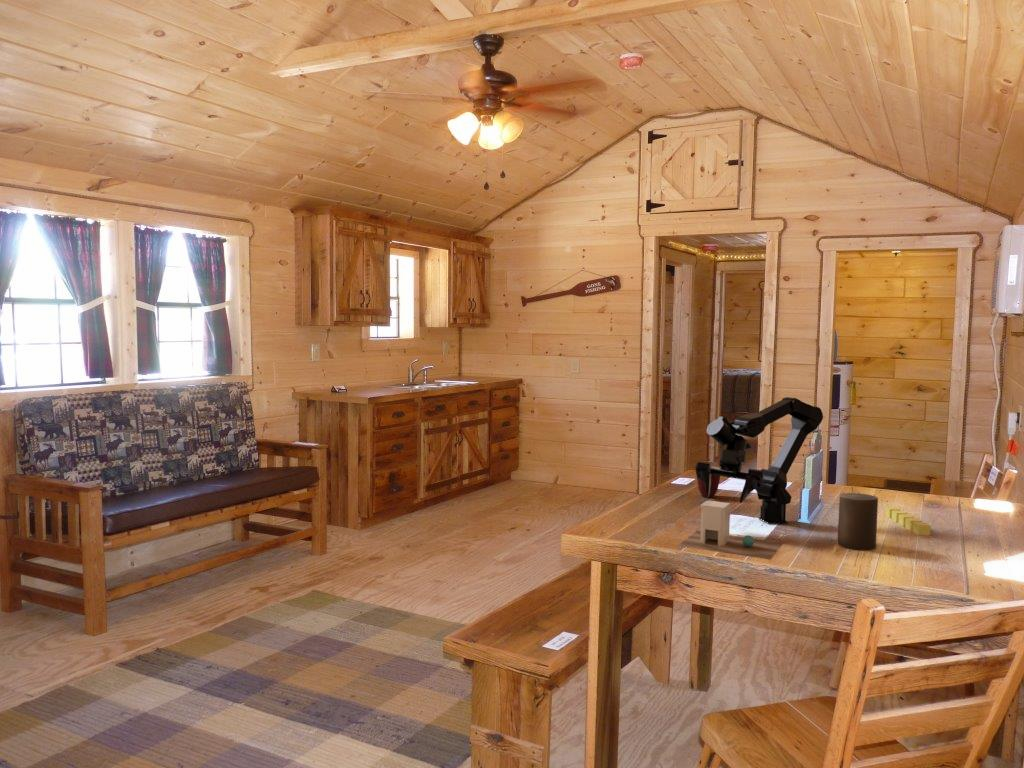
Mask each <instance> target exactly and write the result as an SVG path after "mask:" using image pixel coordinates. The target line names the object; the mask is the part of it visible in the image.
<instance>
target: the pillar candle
mask: <svg viewBox="0 0 1024 768" xmlns="http://www.w3.org/2000/svg"><path fill="white" fill-rule="evenodd" d="M878 500H879V498H878V496H875V495H871V494H867V493H860V491H857V493H855V492H845V493H844V492H843V493H839V502H838V503H839V504H838V520H837V521H838V523H837V524H838V525H837V544H838V545H839V546H840V547H843V548H846V549H850V550H858V551H873V550H875V549H877V536H878V535H877V527H878V503H879V501H878Z"/></svg>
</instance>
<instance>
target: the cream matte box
mask: <svg viewBox="0 0 1024 768" xmlns="http://www.w3.org/2000/svg"><path fill="white" fill-rule="evenodd" d="M730 521H731V502H722V501H715V500H714V501H713V500H706V501H704V502H702V503H701V504H700V531H701V537H700V542H702V543H703V544H705V541H706V540H707V539H714V540H718V546H721V545H723V546H724V545H725V544H726V543H727V542H728V541H729V535H730V527H731V526H730Z"/></svg>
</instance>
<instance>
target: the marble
mask: <svg viewBox="0 0 1024 768" xmlns="http://www.w3.org/2000/svg"><path fill="white" fill-rule="evenodd" d="M742 537H743V540H742V542H743V544H744V545H745V546H747V547H750V546H752V545H753V544H754V539H755V538H754V537H753V536H751V535H744V536H742Z"/></svg>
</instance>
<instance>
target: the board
mask: <svg viewBox="0 0 1024 768" xmlns="http://www.w3.org/2000/svg"><path fill="white" fill-rule="evenodd" d="M700 537H701V530H696V531H695V532H693V533H692V534H691V535H689V536H688V537H687V538H686V539H684V540H683V541H682V542H681V543H679V544H678V545H677V546H678V547H683V548H688V549H689V548H691V549H697V550H702V551H703V550H704V551H710V552H715V553H716V552H717V553H724V554H729V555H730V554H731V555H737V556H744V557H750V558H758V559H763V560H772V558H773V556H774V555H775V554H776V553H777V552H778V550H779V549H780V548H781V547H782V546H783V544H784V542H780V541H773V540H768V539H767V540H766V539H760V538H753V539H754V544H753V545H752V546H750V547H747V546H745V545H744V544H743V542H742V540H743V537H744V536H739V535H730V534H729V541H728V542H727V543H726V544H725V545H724V546H723V545H721V546H718V540H714V539H707V540H706V541H705V544H703V543H702V542H700Z"/></svg>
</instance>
